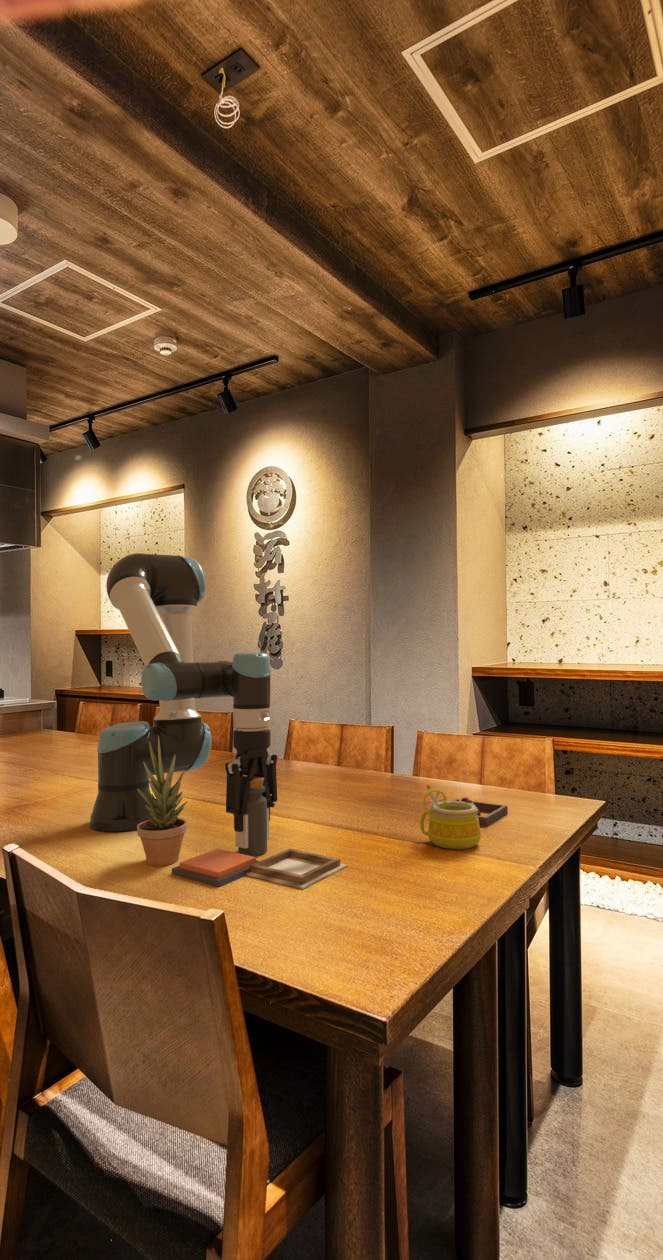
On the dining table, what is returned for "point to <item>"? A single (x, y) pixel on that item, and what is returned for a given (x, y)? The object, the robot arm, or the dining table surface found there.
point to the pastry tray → (496, 810)
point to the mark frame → (296, 868)
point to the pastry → (470, 803)
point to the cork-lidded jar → (256, 819)
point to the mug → (451, 823)
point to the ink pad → (215, 867)
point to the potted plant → (162, 816)
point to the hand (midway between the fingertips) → (252, 842)
